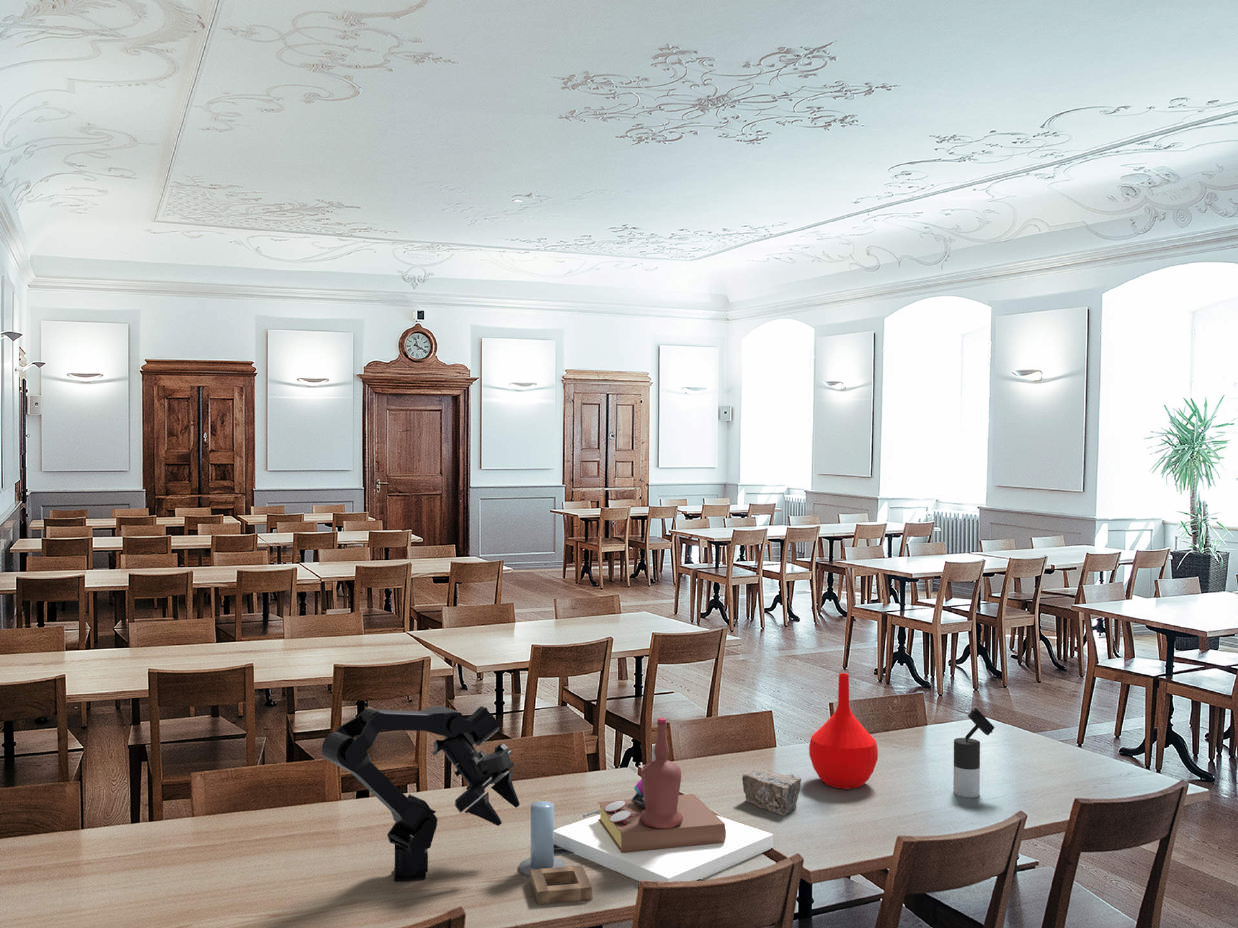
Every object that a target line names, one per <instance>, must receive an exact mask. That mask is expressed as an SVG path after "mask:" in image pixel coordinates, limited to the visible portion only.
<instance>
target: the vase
mask: <svg viewBox="0 0 1238 928" xmlns="http://www.w3.org/2000/svg"><path fill="white" fill-rule="evenodd" d="M849 675H850V674H849V673H846V672H840V673H838V687H837V688H838V690H837V693H838V695H837V700H838V701H837V707H836V708H835V711H834V713H833V714H832V715H831V716H830V717H829V718H828V719H827V720H826V721H825V723H824V724H823V725H821V727H820V728H819V729H817V730H816V731H815V732H814V733H813V734H812V735H811V736H810V742H809V746H808V751H809V753H808V755H809V758H810V761H811V763H812V767H813V770H814V772H815V773H816V774H817V776H818V778H819V779H820V780H821V781H822V782H823V783H824V784H825V785H827V786H829V787H831V788H834V787H835V789H840V788H841V790H854V789H858V788H860V787H862V786H863V785H864V784H866V782H868V781H869V779H870V777H871V776H872V774H873V773H874V770H875V767H876V765H877V762H878V759H879V758H878V757H879V756H878V754H879V751H878V750H879V748H878V745H877V741H876V739H875V738H874V737H873V736H872V735H871V734H870V733H869V732H868V731H867V730H866V728H865V727H864V726H863V725H862V723H861V722H860V721H859V720H858V719H857V718H856V716H855V715H854V714H853V712H852V710H851V707H850V706H851V705H850V676H849ZM853 788H854V789H853Z"/></svg>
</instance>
